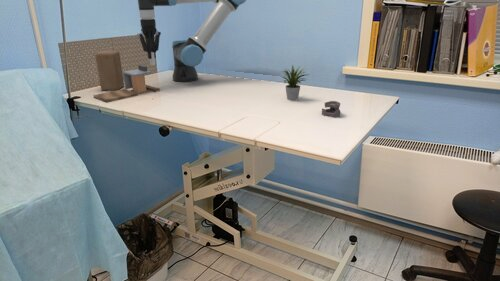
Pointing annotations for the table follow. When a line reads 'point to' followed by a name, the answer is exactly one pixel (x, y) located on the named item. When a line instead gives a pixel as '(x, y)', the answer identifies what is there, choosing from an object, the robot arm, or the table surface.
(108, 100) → the puzzle board
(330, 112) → the dental mold
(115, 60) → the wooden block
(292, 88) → the house plant
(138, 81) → the terracotta block
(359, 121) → the table surface
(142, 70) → the sliding cover
